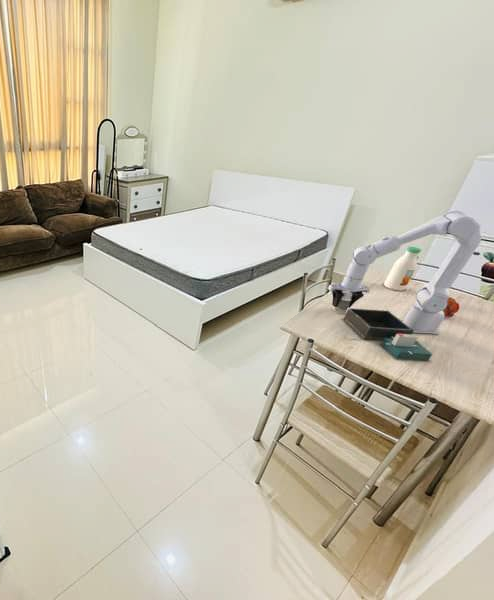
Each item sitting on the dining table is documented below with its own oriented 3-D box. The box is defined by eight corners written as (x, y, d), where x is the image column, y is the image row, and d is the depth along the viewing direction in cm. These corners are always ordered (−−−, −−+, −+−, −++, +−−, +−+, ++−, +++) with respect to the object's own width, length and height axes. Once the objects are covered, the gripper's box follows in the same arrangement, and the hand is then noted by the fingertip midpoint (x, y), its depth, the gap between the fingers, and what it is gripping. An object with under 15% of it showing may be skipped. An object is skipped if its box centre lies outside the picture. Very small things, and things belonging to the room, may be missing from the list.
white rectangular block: (408, 344, 110) (414, 334, 108) (411, 346, 109) (418, 336, 107) (391, 342, 111) (397, 333, 109) (394, 345, 109) (400, 335, 107)
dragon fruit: (432, 322, 130) (434, 315, 138) (463, 318, 124) (463, 311, 131) (424, 302, 131) (427, 297, 138) (455, 297, 124) (456, 292, 132)
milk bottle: (389, 290, 151) (410, 250, 141) (380, 283, 158) (399, 244, 148) (408, 291, 150) (430, 251, 140) (397, 284, 157) (418, 245, 146)
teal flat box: (408, 344, 115) (413, 337, 113) (429, 362, 106) (435, 355, 105) (373, 342, 116) (377, 335, 114) (391, 359, 108) (396, 352, 106)
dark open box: (382, 321, 128) (388, 310, 125) (406, 342, 116) (414, 330, 113) (343, 319, 129) (348, 308, 126) (363, 339, 117) (370, 327, 115)
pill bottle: (348, 313, 131) (356, 296, 127) (335, 312, 132) (343, 295, 128) (342, 307, 135) (350, 290, 131) (330, 306, 136) (337, 289, 132)
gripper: (367, 273, 129) (354, 302, 136) (329, 271, 130) (317, 300, 137) (379, 281, 123) (364, 311, 129) (339, 279, 124) (326, 308, 131)
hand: (341, 306), depth 133 cm, fingers closed on pill bottle, 5 cm apart
